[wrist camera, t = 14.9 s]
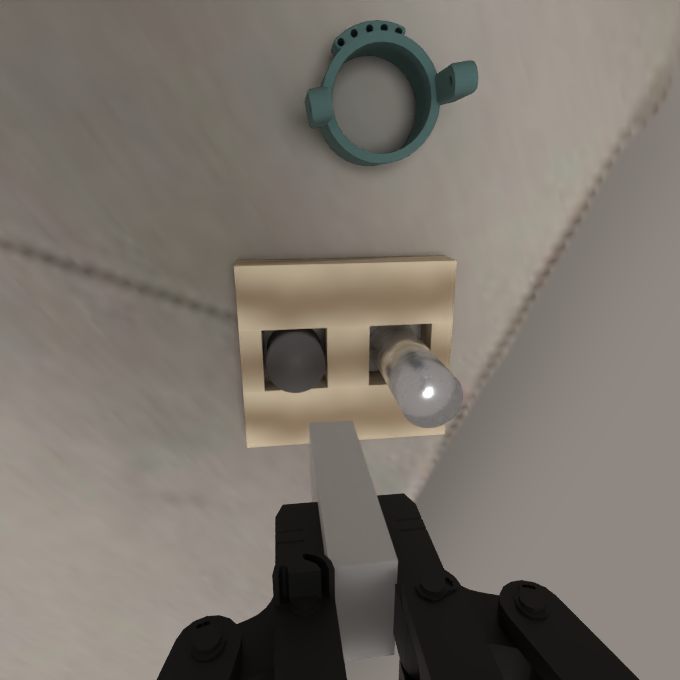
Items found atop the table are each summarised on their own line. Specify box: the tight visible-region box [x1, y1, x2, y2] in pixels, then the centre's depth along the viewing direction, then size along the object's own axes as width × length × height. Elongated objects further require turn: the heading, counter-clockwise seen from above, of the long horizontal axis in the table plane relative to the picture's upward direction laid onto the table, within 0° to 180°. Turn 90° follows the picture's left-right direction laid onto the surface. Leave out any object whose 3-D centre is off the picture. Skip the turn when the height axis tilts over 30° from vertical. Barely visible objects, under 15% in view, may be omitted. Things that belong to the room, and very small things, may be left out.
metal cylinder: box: [369, 325, 463, 428], centre depth 39 cm, size 4×4×12 cm
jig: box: [234, 256, 457, 448], centre depth 42 cm, size 16×18×4 cm
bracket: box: [305, 20, 478, 166], centre depth 34 cm, size 9×9×9 cm
